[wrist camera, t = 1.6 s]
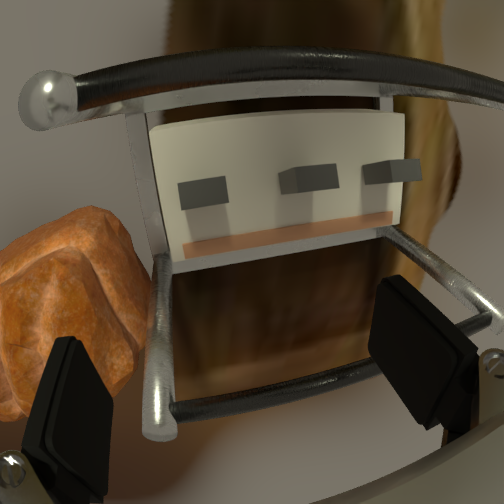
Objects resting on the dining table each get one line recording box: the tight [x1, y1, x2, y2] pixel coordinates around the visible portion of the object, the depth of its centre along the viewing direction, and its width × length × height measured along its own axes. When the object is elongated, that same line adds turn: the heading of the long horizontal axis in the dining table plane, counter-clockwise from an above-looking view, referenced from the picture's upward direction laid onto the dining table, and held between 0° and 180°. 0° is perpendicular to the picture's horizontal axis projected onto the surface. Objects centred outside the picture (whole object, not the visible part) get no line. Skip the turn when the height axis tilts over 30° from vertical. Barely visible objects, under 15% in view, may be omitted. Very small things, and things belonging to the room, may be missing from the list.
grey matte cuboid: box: [362, 159, 422, 185], centre depth 22 cm, size 2×3×4 cm, turn 96°
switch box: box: [149, 109, 405, 262], centre depth 26 cm, size 10×20×6 cm, turn 95°
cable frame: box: [18, 46, 504, 442], centre depth 20 cm, size 17×25×19 cm
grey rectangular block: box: [177, 176, 229, 211], centre depth 20 cm, size 2×3×4 cm, turn 95°
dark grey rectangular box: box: [278, 163, 340, 195], centre depth 21 cm, size 2×3×4 cm, turn 95°
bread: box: [0, 205, 151, 422], centre depth 22 cm, size 14×26×16 cm, turn 107°
